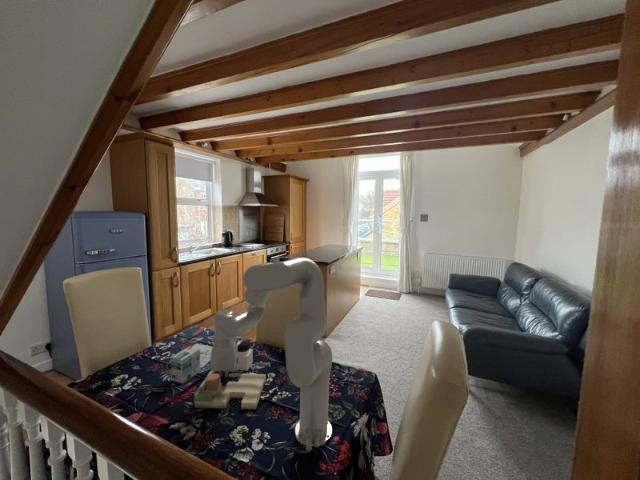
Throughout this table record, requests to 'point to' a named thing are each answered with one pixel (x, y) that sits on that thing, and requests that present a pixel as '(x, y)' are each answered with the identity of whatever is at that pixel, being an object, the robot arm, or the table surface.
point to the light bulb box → (185, 364)
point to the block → (213, 382)
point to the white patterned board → (203, 354)
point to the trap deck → (231, 392)
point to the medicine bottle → (244, 355)
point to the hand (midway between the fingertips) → (224, 384)
